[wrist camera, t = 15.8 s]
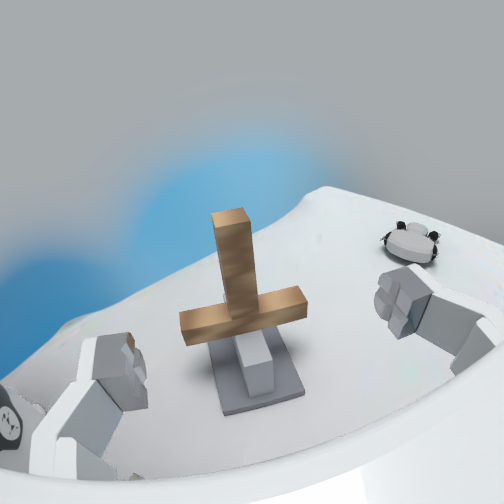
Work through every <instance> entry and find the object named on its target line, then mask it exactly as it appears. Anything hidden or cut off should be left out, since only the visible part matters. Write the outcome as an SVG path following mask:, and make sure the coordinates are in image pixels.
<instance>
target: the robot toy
mask: <svg viewBox="0 0 504 504" xmlns="http://www.w3.org/2000/svg"><path fill="white" fill-rule="evenodd" d="M396 224H397V229H398V230H393V231H392V232H389V233H388V234H386V236H383V238H380V241H381V240H383V239H384V244H385V246H386V247H387V250H388V251H389V252H390V253H392V254H394V255H396V256H398V257H400V258H403V259H405V260H409V261H413V262H418V263H428V262H429V261H430V260H433V259H434V258H436V259H437V257H438V254H439V253H437V251H438V250H437V247H436V246H435V244H434V241H436V240H437V239H438V238H439V237H440V236H441V234H439V233H438V232H436V231H432V232H430V233H429V235H428V236H427V234H428V229H427V227H425V226H424V225H422V224H419V223H409V224H408V225H407V229H406V225H405V223H404V222H402V221H397V222H396Z"/></svg>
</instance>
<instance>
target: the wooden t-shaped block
mask: <svg viewBox="0 0 504 504" xmlns="http://www.w3.org/2000/svg"><path fill="white" fill-rule="evenodd" d="M211 216H212V222H213V228H214V234H215V239H216V246H217V252H218V257H219V263H220V269H221V274H222V280H223V285H224V291H225V296H226V301H227V302H226V303H221V304H216V305H212V306H207V307H202V308H198V309H193V310H188V311H183V312H179V315H180V326H181V332H182V335H183V338H184V341H185V343H186V346H190V345H195V344H200V343H205V342H209V341H214V340H219V339H223V338H228V337H232V336H236V335H241V334H245V333H249V332H253V331H257V330H261V329H265V328H269V327H273V326H277V325H281V324H285V323H288V322H292V321H296V320H299V319H303V318H307V304H308V301H307V300H306V298H305V296H304V295H303V293H302V291H301V290H300V288H299V287H298V286H294V287H290V288H286V289H282V290H277V291H273V292H269V293H265V294H261V295H258V294H257V283H256V273H255V263H254V253H253V243H252V232H251V222H250V219H249V218H248V216H247V215H246V213H245V211H244V209H243V208H237V209H231V210H227V211H221V212H216V213H212V214H211Z"/></svg>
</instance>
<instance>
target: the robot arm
mask: <svg viewBox="0 0 504 504" xmlns="http://www.w3.org/2000/svg"><path fill="white" fill-rule="evenodd" d="M378 284H379V286H380V288H379V289H378V291H377V292H376V293H375V297H374V305H375V309H376V312H377V314H378V315H379V316H380V318H381V319H384V320H386V321H388V328H389V329H390V331H391V332H392V333H393V334H394V336H395V337H396V338H397V340H399V339H401V338H404V337H406V336H408V335H411V334H413V333H416V334H417V335H419V336H421V337H423V338H424V339H426V340H428V341H429V342H431V343H433V344H435V345H436V346H438V347H440V348H442V349H443V350H445V351H447V352H449V353H450V354H452V355H454V356H456V357H455V359H454V360H453V362H452V363H451V365H450V369H451V371H452V372H453V373H454V375H455V377H453V378H452V379H450V380H449V381H447V382H446V383H444V384H442V385H441V386H439V387H438V388H436V389H434V390H433V391H431V392H429V393H428V394H426V395H424V396H423V397H421V398H419V399H417V400H416V401H414V402H412V403H410V404H408V405H407V406H405V407H403V408H401V409H399V410H397V411H395V412H393V413H391V414H389V415H387V416H385V417H383V418H381V419H379V420H377V421H375V422H373V423H371V424H368V425H366V426H364V427H362V428H359V429H357V430H355V431H352V432H350V433H348V434H345V435H343V436H340V437H338V438H335V439H333V440H330V441H327V442H325V443H322V444H319V445H316V446H313V447H310V448H308V449H305V450H302V451H298V452H295V453H292V454H289V455H285V456H282V457H279V458H275V459H271V460H268V461H264V462H260V463H256V464H252V465H247V466H243V467H238V468H234V469H229V470H224V471H218V472H212V473H206V474H200V475H193V476H185V477H177V478H167V479H154V480H135V481H117V471H116V469H115V468H114V467H113V466H112V465H110V464H108V463H107V462H105V461H104V460H103V459H101V457H102V455H103V453H104V451H105V449H106V447H107V445H108V443H109V441H110V439H111V437H112V435H113V433H114V431H115V429H116V427H117V425H118V423H119V421H120V419H121V417H122V415H123V412H125V411H133V410H140V409H147V408H148V398H147V389H146V388H145V386H144V384H143V383H144V381H145V380H146V378H147V377H146V367H145V362H144V359H143V356H142V354H141V352H140V350H139V349H137V348H135V340H134V338H133V336H132V335H131V333H129V332H126V333H119V334H112V335H104V336H99V337H90V338H85V339H84V340H83V341H82V345H81V350H80V356H79V362H78V368H77V375H76V381H75V382H71V383H70V385H69V386H68V387H67V388H66V390H65V391H64V392H63V394H62V395H61V396H60V397H59V399H58V400H57V401H56V403H55V404H54V405H53V407H52V408H51V409H50V411H49V412H48V413H47V414H46V412H45V410H44V409H43V407H41V406H40V405H39V404H30V403H29V402H27V401H26V400H25V399H24V398H23V397H21V396H20V395H19V394H18V393H17V392H15V391H14V390H13V389H12V388H11V387H9V386H7V385H5V386H2V385H1V384H0V504H504V314H503V313H502V312H501V311H500V310H499V309H498V308H497V307H496V306H493V305H490V304H488V303H485V302H483V301H480V300H478V299H475V298H473V297H470V296H467V295H465V294H462V293H460V292H457V291H454V290H452V289H449V288H445V289H444V288H443V287H442V286H441V285H440V284H439V283H438V282H437V281H436V280H435V279H434V278H433V277H431V276H430V275H429V274H428V273H427V272H426V271H425V270H424V269H423V268H422V267H421V266H420V265H418V264H415V263H414V264H411V265H408V266H405V267H402V268H399V269H395V270H392V271H389V272H386V273H383V274H381V276H380V277H379V280H378Z"/></svg>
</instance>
